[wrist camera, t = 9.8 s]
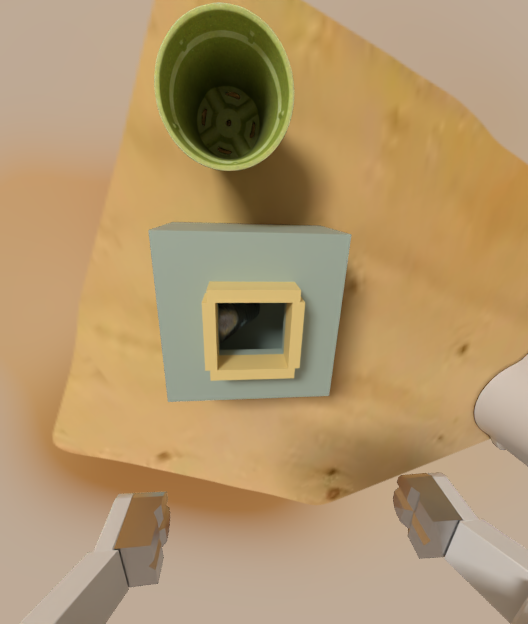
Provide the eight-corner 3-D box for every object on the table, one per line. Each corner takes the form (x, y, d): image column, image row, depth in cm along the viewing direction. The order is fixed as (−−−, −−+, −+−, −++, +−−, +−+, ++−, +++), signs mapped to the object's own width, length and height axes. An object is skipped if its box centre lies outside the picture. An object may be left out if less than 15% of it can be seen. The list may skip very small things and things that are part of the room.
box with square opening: (320, 225, 31) (364, 238, 21) (307, 352, 37) (337, 412, 27) (172, 222, 30) (137, 233, 19) (183, 354, 36) (161, 420, 25)
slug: (259, 291, 30) (222, 314, 25) (260, 323, 31) (225, 350, 27) (230, 282, 31) (190, 303, 27) (232, 314, 33) (195, 337, 29)
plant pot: (267, 188, 30) (279, 182, 21) (174, 168, 28) (150, 155, 20) (286, 80, 26) (308, 27, 18) (182, 51, 25) (157, -20, 17)
